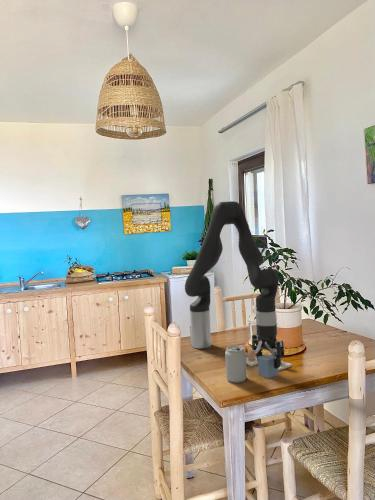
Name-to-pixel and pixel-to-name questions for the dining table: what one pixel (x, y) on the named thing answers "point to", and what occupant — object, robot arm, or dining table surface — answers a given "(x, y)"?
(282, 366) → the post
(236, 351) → the can
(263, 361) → the blue-grey block
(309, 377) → the dining table surface
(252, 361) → the short post
